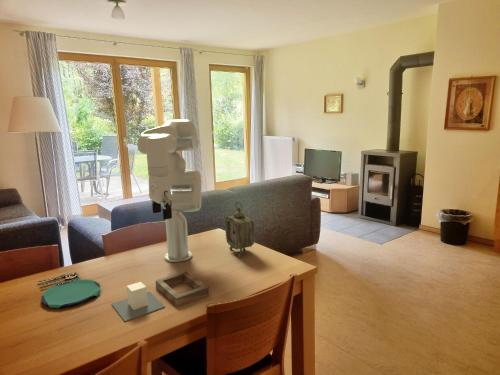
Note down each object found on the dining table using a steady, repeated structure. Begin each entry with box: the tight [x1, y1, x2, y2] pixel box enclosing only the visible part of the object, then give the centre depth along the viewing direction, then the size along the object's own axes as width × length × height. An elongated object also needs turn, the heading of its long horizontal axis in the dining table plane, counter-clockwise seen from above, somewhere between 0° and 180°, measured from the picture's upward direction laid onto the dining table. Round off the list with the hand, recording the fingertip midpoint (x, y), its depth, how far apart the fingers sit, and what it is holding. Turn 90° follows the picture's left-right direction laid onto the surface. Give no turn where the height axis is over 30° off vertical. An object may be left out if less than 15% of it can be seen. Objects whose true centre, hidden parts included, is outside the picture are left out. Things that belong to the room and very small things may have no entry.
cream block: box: [126, 281, 148, 310], centre depth 125 cm, size 5×5×7 cm
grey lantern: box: [224, 201, 256, 258], centre depth 170 cm, size 14×9×25 cm, turn 27°
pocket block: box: [155, 270, 210, 307], centre depth 136 cm, size 18×13×3 cm
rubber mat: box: [111, 291, 166, 323], centre depth 126 cm, size 14×14×1 cm
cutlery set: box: [37, 271, 102, 309], centre depth 138 cm, size 20×30×2 cm, turn 39°
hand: (162, 215), depth 134 cm, fingers open, 9 cm apart
